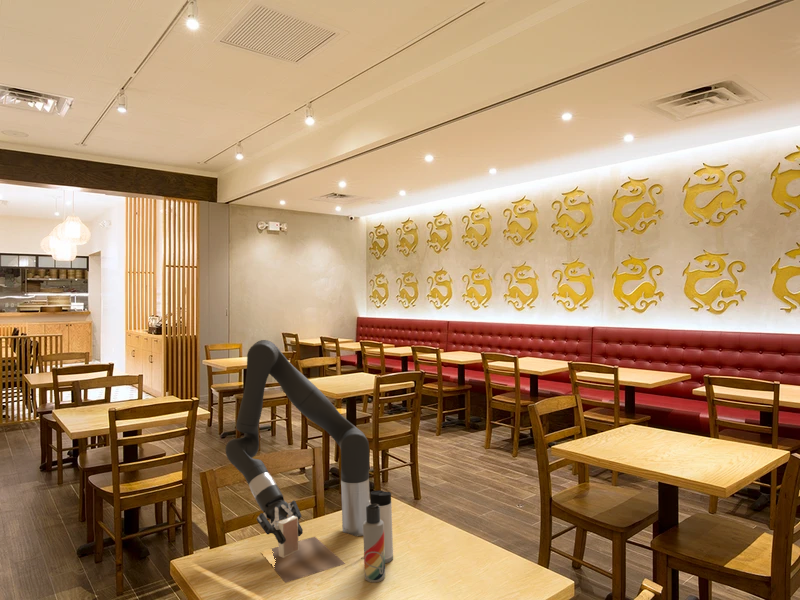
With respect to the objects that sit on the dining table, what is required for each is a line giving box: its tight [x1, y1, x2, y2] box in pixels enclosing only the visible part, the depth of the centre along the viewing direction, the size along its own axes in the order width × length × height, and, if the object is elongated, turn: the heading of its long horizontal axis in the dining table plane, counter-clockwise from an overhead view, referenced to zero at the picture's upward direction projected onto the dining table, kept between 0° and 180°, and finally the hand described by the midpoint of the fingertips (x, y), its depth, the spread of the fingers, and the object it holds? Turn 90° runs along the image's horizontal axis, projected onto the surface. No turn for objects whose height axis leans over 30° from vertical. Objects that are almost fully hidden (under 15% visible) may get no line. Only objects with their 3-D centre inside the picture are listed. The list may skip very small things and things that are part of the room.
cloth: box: [271, 536, 346, 583], centre depth 159 cm, size 18×22×1 cm
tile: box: [277, 516, 299, 558], centre depth 162 cm, size 2×6×10 cm, turn 142°
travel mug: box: [369, 490, 394, 564], centre depth 159 cm, size 6×7×20 cm
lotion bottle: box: [362, 503, 386, 583], centre depth 148 cm, size 6×6×20 cm
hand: (292, 538), depth 161 cm, fingers closed on tile, 6 cm apart
